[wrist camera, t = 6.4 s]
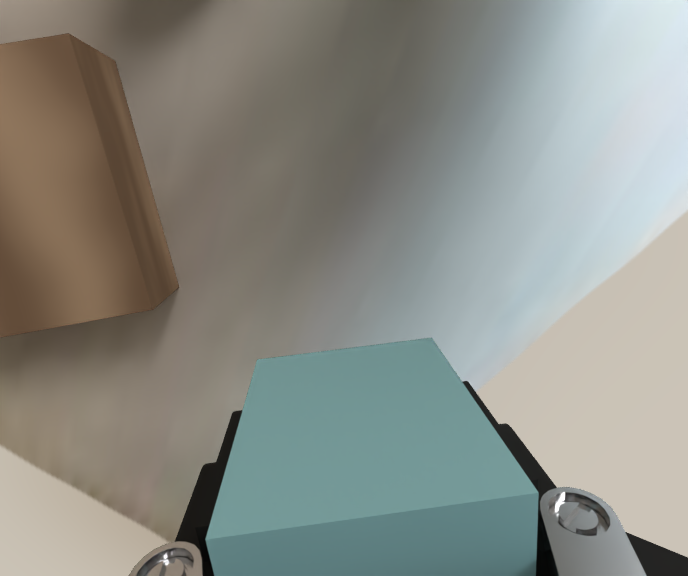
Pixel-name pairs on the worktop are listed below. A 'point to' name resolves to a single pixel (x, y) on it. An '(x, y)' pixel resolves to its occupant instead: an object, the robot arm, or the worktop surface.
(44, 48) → the walnut riser block
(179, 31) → the worktop surface
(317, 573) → the teal block
